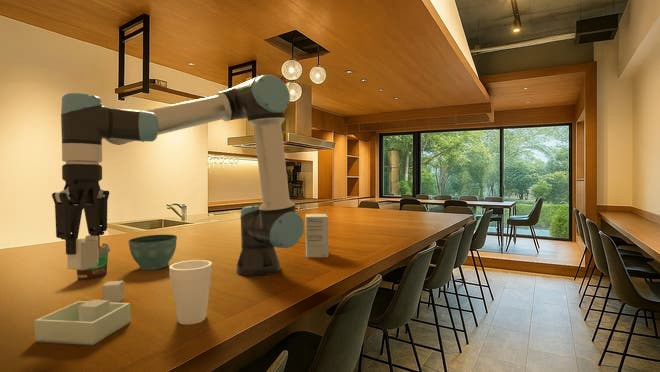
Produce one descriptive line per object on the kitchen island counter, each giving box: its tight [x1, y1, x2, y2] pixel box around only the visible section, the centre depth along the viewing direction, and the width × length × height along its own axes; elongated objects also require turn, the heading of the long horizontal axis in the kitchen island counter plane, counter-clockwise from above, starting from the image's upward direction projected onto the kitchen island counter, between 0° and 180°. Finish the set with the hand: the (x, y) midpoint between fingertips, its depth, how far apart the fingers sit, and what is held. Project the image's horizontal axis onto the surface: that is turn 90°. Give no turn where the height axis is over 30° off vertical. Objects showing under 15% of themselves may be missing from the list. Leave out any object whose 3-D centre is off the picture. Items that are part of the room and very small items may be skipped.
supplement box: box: [304, 213, 329, 259], centre depth 150 cm, size 10×9×17 cm
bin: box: [34, 300, 132, 346], centre depth 79 cm, size 13×11×4 cm
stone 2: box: [78, 299, 110, 322], centre depth 78 cm, size 4×4×6 cm
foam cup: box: [168, 259, 213, 325], centre depth 85 cm, size 10×9×13 cm
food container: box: [76, 243, 111, 281], centre depth 121 cm, size 12×6×10 cm, turn 168°
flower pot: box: [127, 234, 178, 271], centre depth 132 cm, size 16×16×11 cm
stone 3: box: [101, 280, 125, 303], centre depth 98 cm, size 4×4×5 cm
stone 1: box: [73, 238, 98, 271], centre depth 82 cm, size 4×4×6 cm
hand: (83, 265), depth 82 cm, fingers closed on stone 1, 4 cm apart
